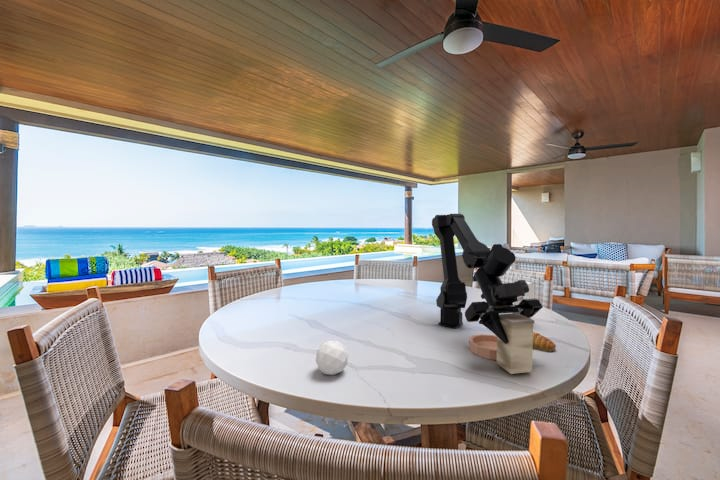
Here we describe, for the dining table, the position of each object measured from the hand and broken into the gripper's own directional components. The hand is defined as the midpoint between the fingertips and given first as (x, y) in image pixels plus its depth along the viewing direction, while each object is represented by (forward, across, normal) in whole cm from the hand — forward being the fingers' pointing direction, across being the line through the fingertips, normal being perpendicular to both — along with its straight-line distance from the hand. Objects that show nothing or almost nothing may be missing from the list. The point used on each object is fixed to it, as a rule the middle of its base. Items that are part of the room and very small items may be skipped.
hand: (518, 342), depth 72 cm
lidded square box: (+4, 0, +6) cm, 7 cm away
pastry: (-4, +16, +15) cm, 23 cm away
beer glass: (-16, +25, +27) cm, 40 cm away
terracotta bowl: (-4, +1, +14) cm, 15 cm away
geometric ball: (0, -44, +12) cm, 45 cm away
